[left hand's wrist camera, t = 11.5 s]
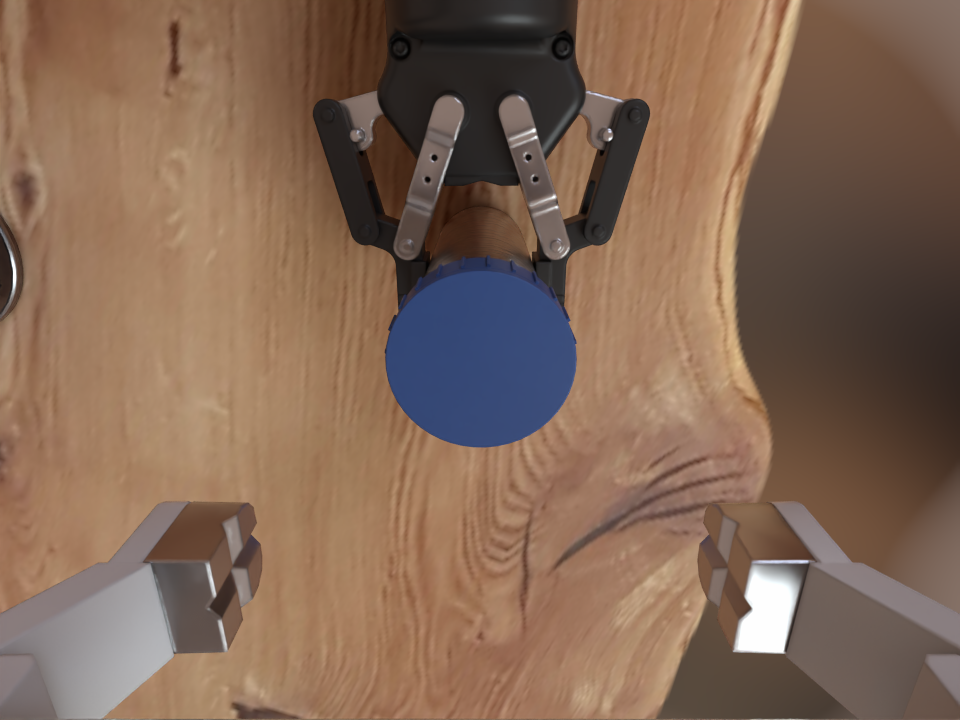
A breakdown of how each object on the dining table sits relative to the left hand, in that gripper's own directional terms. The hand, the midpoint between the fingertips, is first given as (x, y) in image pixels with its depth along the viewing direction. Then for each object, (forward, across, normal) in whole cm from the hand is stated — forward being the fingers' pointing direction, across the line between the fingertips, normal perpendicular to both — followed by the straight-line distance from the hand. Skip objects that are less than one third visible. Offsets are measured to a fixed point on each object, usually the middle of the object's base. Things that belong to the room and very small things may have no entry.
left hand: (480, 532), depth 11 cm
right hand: (+18, 0, -3) cm, 18 cm away
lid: (+8, 0, 0) cm, 8 cm away
